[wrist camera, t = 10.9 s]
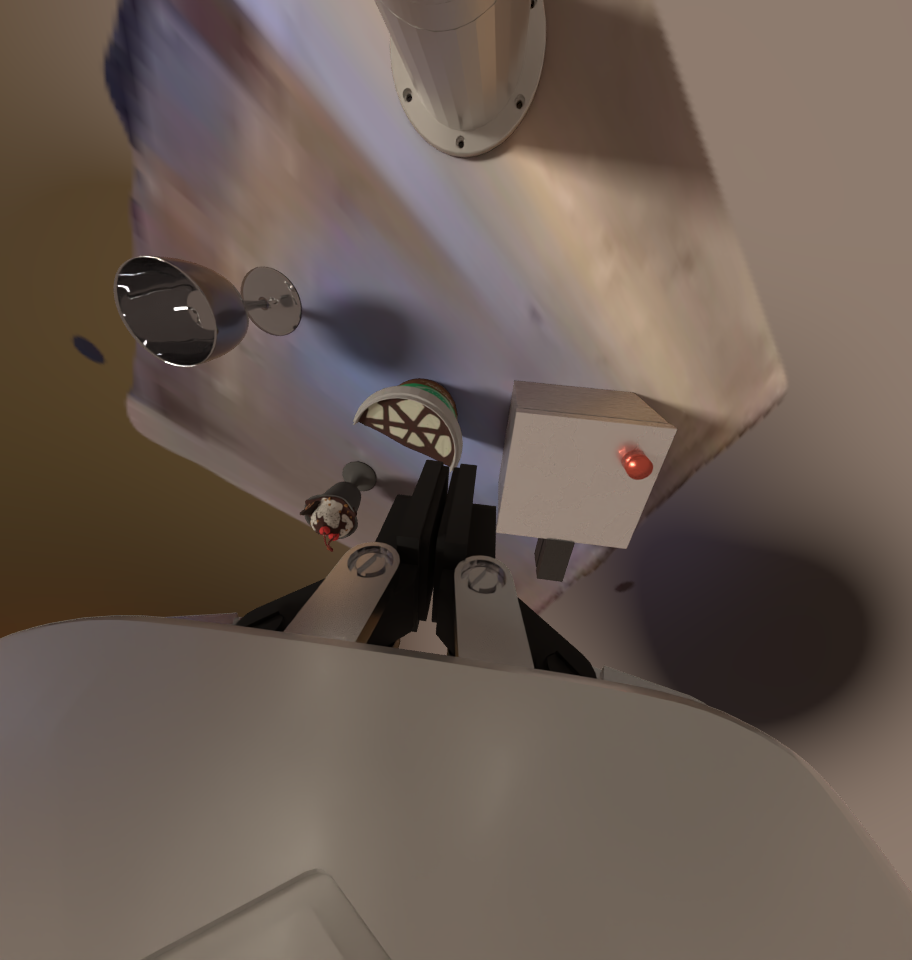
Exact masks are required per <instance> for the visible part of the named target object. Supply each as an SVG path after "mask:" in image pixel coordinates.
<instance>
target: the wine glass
mask: <svg viewBox="0 0 912 960" xmlns="http://www.w3.org/2000/svg"><path fill="white" fill-rule="evenodd" d="M114 296H115V302H116V306H117V309H118V312H119V314H120V316H121V319H122V320H123V322H124V324H125V326H126V328H127V329H128V330H129V332H130V333H131V335H132V336H133V337H134V338H135V339H136V341H137V342H138V343H139V344H140V345H141V346H142V347H143V348H145V349H146V350H147V351H148V352H149V353H151V354H152V355H154V356H155V357H157V358H158V359H160V360H162V361H164V362H167V363H169V364H172V365H176V366H184V367H188V366H194V365H199V364H202V363H206V362H209V361H211V360H214V359H216V358H219V357H221V356H223V355H225V354H226V353H228V352H230V351H231V350H232V349H234V348H235V347H236V346H237V345H239V344H240V342H241V341H242V340H243V338H244V337H245V335H246V333H247V330H248V324H249V318H250V319H251V321H252V322H253V323H254V324H255V325H256V326H257V327H258V328H260V329H261V330H263V331H264V332H266V333H269V334H271V335H276V336H282V335H287V334H289V333H291V332H292V331H294V329H295V328H296V327H297V325H298V324H299V321H300V318H301V303H300V299H299V296H298V293H297V291H296V289H295V288H294V286H293V285H292V283H291V282H290V281H289V280H288V279H287V278H286V277H285V276H284V275H283V274H282V273H280V272H278V271H277V270H275V269H272V268H269V267H257V268H254V269H252V270H250V271H249V272H248V273H247V274H246V276H245V277H244V279H243V281H242V285H241V295H240V293H239V292H238V290H237V289H236V288H235V286H234V285H233V284H232V283H231V282H230V281H229V280H227V279H226V278H225V277H224V276H222V275H220V274H219V273H217V272H215V271H214V270H212V269H209V268H207V267H204V266H202V265H199V264H197V263H193V262H189V261H185V260H181V259H176V258H168V257H156V256H139V257H134V258H131V259H129V260H127V261H125V262H124V263H123V264H122V265H121V266H120V268H119V269H118V271H117V273H116V276H115V280H114ZM248 317H249V318H248Z"/></svg>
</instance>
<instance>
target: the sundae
mask: <svg viewBox="0 0 912 960" xmlns="http://www.w3.org/2000/svg"><path fill="white" fill-rule="evenodd" d="M343 479H344V481H345V482H339V483H337V484H335V485H334V486H332V487H331V488H330V489H329V490H327V491H326V492H325V493H324V494H322V495H316V496H313V497H310V498H309V499H308V500H306V501H305V508H304V510H303V511H301V512H300V515H304V516H305V519H306V521H307V523H308V524H309V525H310V526H311V527H312V528H313V529H314V531H315V532H316V533H318V534H320V535H323V536H324V541H325V544H326V539H325V536H328V537H329V538H330V539H331V540H330V541H329V542H328V546H329V543H330V542H331V541H332V540H333V541H335V540H338V539H342V538H346V537H348V536H350V535H351V534H353V533H354V532H355V530H356V529H357V526H358V522H357V517H356V516H357V510H358V508H359V505H360V501H361V493H360V491H367V490H370V489H371V488H372V487H373V486H374V485H375V481H376V477H375V474H374V472H373V470H372V469H371V468H370V467H369V466H368V465H366V464H364V463H361V462H350V463H348V464H347V465H346V466H345V467H344V469H343ZM326 546H327V544H326ZM328 546H327V550H330V551H331V552H332V551H333V549H332V548H331V547H330V546H329V547H328Z"/></svg>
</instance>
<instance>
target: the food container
mask: <svg viewBox="0 0 912 960" xmlns="http://www.w3.org/2000/svg"><path fill="white" fill-rule="evenodd" d="M353 422H354V424H353V425H355V424H356V423H358V422H360V423H362V424H364V425H366V426H368V427H371V428H373V429H375V430H377V431H379V432H381V433H383V434H384V435H386V436H388V437H390V438H391V439H393V440H395V441H396V442H398V443H400V444H402V445H404V446H406V447H408V448H410V449H413V450H415V451H418V452H420V453H422V454H425V455H427V456H429V457H431V458H433V459H435V460H437V461H442V462H443V464H445V465H447V466H449V467H450V473H451V470H452V471H453V469H454V467H457V465H458V463H459V460H460V457H461V453H462V446H463V442H462V434H461V430H460V426H459V424H458V422H457V410H456V405H455V402H454V400H453V399H452V397H451V395H450V393H449V392H448V391H447V390H446V389H445V388H444V387H443V386H441V385H440V384H438V383H436V382H434V381H432V380H428V379H420V378H419V379H412V380H408V381H406V382H403V383H402V384H400V385H399V386H393V387H389V388H384V389H382V390H380V391H377V392H376V393H374V394H372V395H371V396H369V397H368V398H367V399H366V400H365V401H364V402H363V403H362V405H361V406H360V408H359V409H358V411H357V413H356V415H355V418H354V420H353Z"/></svg>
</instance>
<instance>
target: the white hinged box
mask: <svg viewBox="0 0 912 960" xmlns="http://www.w3.org/2000/svg"><path fill="white" fill-rule="evenodd" d="M516 408H523V409H532V410H542V411H551V412H561V413H570V414H580V415H589V416H599V417H608V418H617V419H627V420H636V421H646V422H655V423H665V424H669V423H668V422H667V421H666V420H664V419H663V418H662V417H661V416H660V415H659V414H658V413H656V412H655V411H654V410H653V409H652V408H651V407H650V406H648V405H647V404H646V403H645V402H644V401H643V400H642V399H640V398H639V397H638V396H637V395H636V394H635V393H633V392H623V391H614V390H604V389H594V388H584V387H574V386H564V385H555V384H545V383H535V382H525V381H515V380H514V385H513V391H512V398H511V404H510V411H509V417H508V423H507V430H506V436H505V442H504V449H503V455H502V462H501V468H500V474H499V481H498V512H499V506H500V500H501V494H502V488H503V482H504V476H505V470H506V464H507V458H508V452H509V446H510V440H511V434H512V428H513V422H514V416H515V410H516ZM543 541H544V538H538V541H537V545H536V549H535V553H534V554H535V562H536V567H537V564H538V560H539V557H540V553H541V549H542V545H543Z"/></svg>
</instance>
